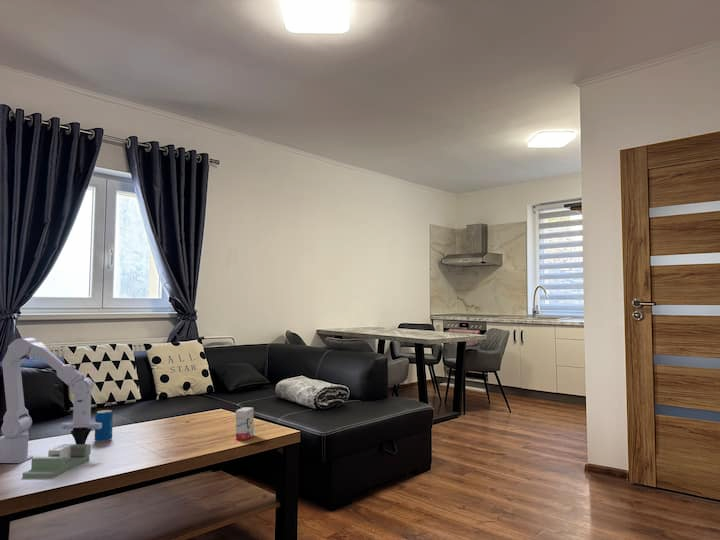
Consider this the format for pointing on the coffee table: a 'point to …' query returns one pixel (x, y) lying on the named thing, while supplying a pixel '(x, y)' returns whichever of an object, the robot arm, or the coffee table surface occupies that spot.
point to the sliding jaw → (79, 449)
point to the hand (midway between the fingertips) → (80, 448)
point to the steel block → (61, 452)
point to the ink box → (244, 423)
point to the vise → (52, 466)
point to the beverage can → (104, 425)
